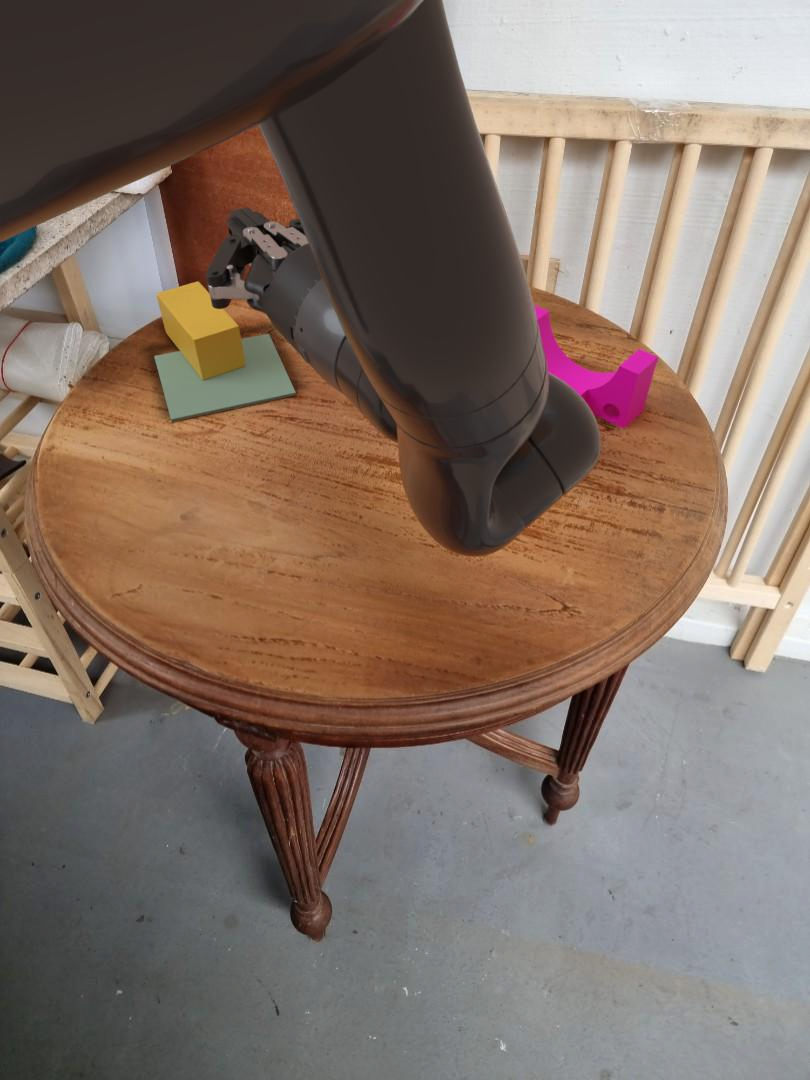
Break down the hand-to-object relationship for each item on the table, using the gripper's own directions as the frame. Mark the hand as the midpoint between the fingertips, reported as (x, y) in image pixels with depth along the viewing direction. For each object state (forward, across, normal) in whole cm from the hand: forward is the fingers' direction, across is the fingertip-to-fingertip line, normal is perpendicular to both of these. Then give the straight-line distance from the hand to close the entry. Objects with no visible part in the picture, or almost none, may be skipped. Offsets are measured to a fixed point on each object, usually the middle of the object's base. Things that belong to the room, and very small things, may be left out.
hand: (239, 221), depth 61 cm
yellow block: (+12, 0, +19) cm, 23 cm away
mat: (+12, 0, +22) cm, 25 cm away
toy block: (-11, -28, +22) cm, 37 cm away
